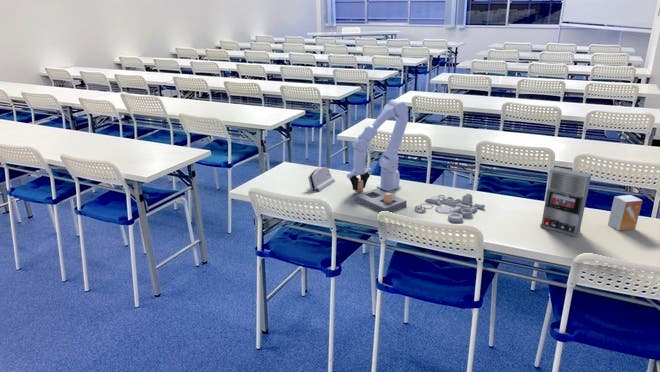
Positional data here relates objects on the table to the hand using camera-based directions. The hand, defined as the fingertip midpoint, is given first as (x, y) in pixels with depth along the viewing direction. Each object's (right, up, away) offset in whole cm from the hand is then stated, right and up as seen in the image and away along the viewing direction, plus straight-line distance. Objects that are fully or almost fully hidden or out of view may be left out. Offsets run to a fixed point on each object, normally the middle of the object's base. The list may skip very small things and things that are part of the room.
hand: (359, 188), depth 232 cm
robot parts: (+39, -10, -19) cm, 44 cm away
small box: (+106, -16, -38) cm, 114 cm away
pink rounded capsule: (0, -2, +1) cm, 2 cm away
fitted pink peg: (+12, -8, -17) cm, 22 cm away
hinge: (-19, +1, +9) cm, 21 cm away
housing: (+9, -7, -13) cm, 17 cm away
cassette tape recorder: (+80, -17, -40) cm, 91 cm away
